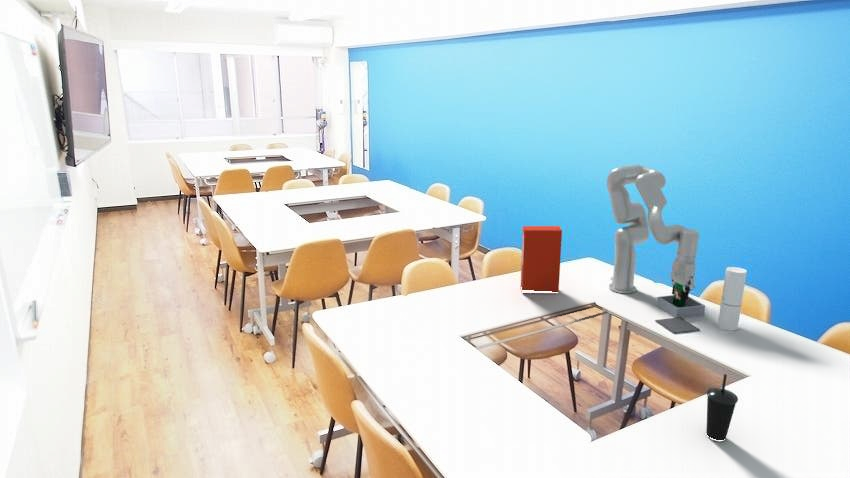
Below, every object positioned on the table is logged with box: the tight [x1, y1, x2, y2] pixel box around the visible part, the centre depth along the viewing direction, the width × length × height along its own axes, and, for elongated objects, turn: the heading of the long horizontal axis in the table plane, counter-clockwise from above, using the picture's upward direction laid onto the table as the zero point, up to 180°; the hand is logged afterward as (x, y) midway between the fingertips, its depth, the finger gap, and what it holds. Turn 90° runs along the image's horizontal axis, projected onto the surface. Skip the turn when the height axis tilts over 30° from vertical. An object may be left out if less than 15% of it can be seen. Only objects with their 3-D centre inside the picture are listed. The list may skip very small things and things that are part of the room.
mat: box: [654, 317, 701, 335], centre depth 219 cm, size 12×12×1 cm
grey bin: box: [656, 294, 706, 319], centre depth 233 cm, size 14×14×4 cm
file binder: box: [520, 225, 563, 293], centre depth 254 cm, size 8×17×32 cm, turn 86°
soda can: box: [672, 282, 687, 308], centre depth 232 cm, size 5×5×12 cm
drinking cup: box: [705, 374, 739, 440], centre depth 148 cm, size 8×8×20 cm
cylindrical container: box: [717, 266, 748, 332], centre depth 214 cm, size 7×7×25 cm
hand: (679, 296), depth 233 cm, fingers closed on soda can, 5 cm apart
